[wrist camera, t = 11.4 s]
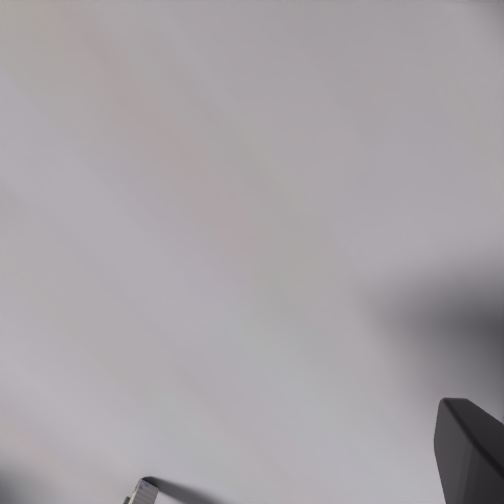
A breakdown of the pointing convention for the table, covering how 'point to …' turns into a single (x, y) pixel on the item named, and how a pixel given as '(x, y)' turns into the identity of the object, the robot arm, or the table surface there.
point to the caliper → (143, 494)
